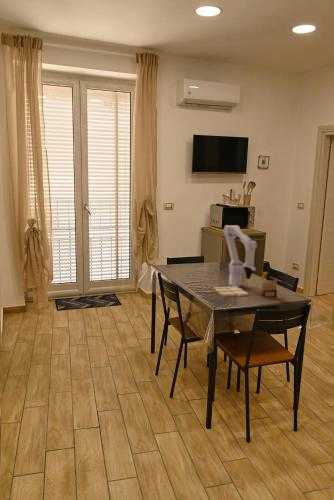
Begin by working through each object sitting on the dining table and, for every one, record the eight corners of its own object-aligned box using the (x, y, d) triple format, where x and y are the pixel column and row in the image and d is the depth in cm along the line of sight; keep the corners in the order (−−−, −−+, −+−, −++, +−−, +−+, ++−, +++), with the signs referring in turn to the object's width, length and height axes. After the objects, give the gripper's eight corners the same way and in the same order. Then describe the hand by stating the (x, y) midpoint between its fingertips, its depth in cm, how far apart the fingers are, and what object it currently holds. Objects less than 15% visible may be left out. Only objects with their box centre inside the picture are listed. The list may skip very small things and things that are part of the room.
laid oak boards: (212, 290, 271) (213, 287, 271) (225, 289, 274) (225, 286, 273) (223, 298, 254) (223, 295, 254) (236, 297, 257) (237, 294, 256)
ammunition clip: (274, 296, 263) (276, 278, 261) (276, 297, 262) (278, 279, 259) (260, 297, 260) (262, 279, 258) (262, 298, 258) (263, 280, 256)
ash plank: (226, 289, 274) (226, 286, 273) (237, 289, 276) (237, 286, 276) (237, 297, 257) (238, 294, 256) (249, 297, 259) (249, 294, 259)
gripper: (239, 256, 272) (238, 276, 274) (249, 261, 258) (247, 281, 261) (248, 256, 274) (247, 275, 276) (259, 261, 260) (257, 281, 263)
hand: (248, 278), depth 269 cm, fingers closed
